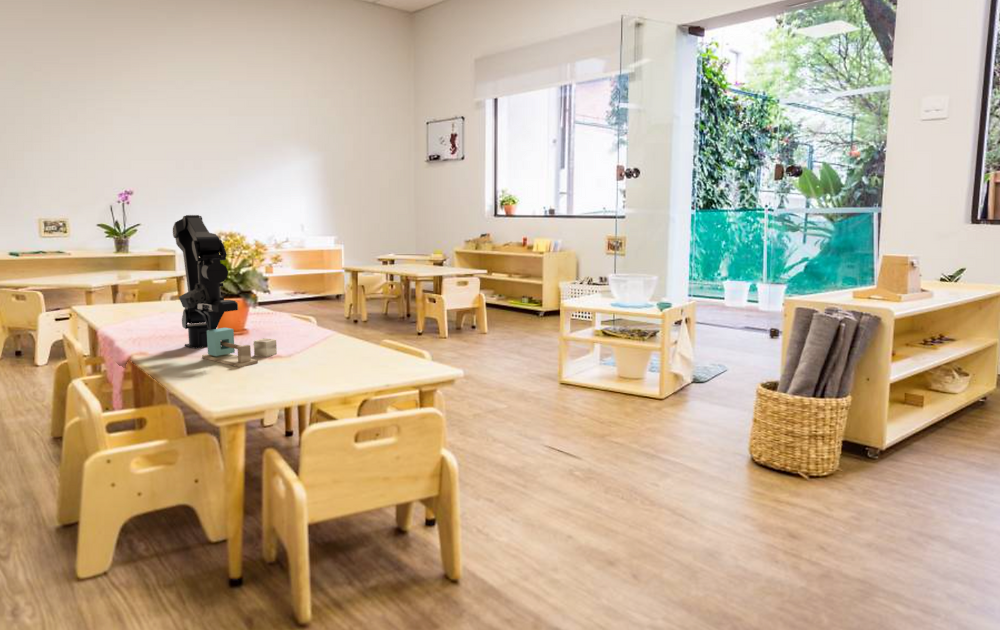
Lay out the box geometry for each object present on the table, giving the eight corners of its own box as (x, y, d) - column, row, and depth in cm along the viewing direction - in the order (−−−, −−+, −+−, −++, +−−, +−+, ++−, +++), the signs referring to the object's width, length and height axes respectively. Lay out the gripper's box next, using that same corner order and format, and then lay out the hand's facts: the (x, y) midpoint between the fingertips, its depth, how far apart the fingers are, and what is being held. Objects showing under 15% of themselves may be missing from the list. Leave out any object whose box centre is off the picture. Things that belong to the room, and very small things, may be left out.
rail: (202, 357, 203) (201, 340, 202) (221, 354, 208) (220, 337, 207) (239, 366, 193) (238, 348, 192) (257, 363, 197) (257, 345, 197)
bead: (207, 354, 201) (206, 330, 200) (226, 350, 206) (225, 327, 205) (215, 356, 199) (214, 332, 198) (234, 352, 203) (233, 329, 202)
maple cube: (254, 355, 207) (253, 341, 206) (264, 352, 211) (263, 338, 210) (266, 357, 205) (266, 342, 205) (276, 354, 209) (276, 339, 209)
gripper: (164, 279, 200) (168, 333, 203) (201, 284, 189) (204, 341, 192) (201, 276, 209) (203, 327, 211) (237, 281, 198) (240, 335, 201)
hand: (212, 332), depth 204 cm, fingers closed
